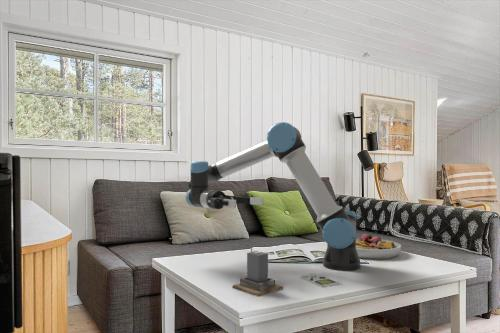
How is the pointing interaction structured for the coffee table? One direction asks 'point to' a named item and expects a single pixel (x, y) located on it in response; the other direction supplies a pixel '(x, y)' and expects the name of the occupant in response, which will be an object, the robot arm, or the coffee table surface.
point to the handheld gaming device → (320, 280)
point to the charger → (257, 267)
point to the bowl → (376, 247)
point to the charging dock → (257, 286)
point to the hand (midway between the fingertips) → (249, 202)
